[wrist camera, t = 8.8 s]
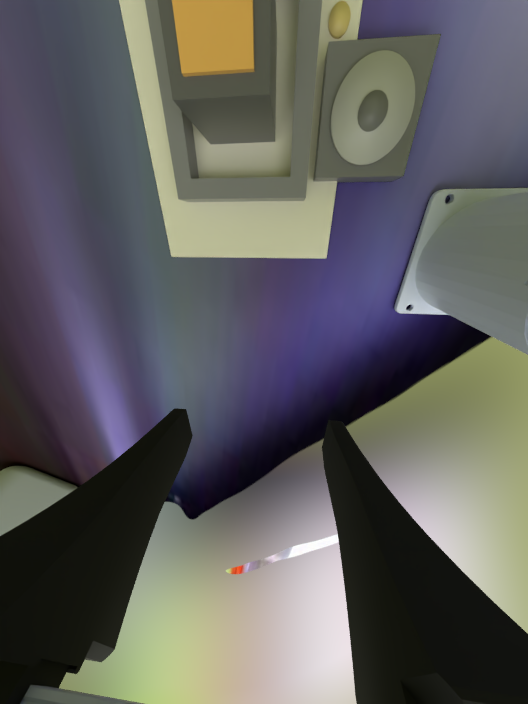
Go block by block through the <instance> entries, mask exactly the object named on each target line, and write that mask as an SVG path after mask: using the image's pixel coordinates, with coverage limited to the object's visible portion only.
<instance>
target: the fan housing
mask: <svg viewBox="0 0 528 704" xmlns="http://www.w3.org/2000/svg"><path fill="white" fill-rule="evenodd" d="M440 36H441V34H433V35H418V36H404V37H389V38H374V39H360V40H345V41H330V42H329V43H328V47H327V52H326V56H325V64H324V74H323V85H322V95H321V106H320V117H319V127H318V138H317V148H316V159H315V169H314V180H313V182H320V181H337V182H392V181H394V180H396V179H398V178H401V177H403V176H404V172H405V169H406V165H407V161H408V157H409V153H410V150H411V146H412V142H413V138H414V134H415V131H416V127H417V123H418V119H419V115H420V112H421V108H422V104H423V100H424V96H425V93H426V89H427V85H428V81H429V78H430V74H431V70H432V66H433V62H434V59H435V55H436V51H437V47H438V43H439V40H440Z"/></svg>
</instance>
